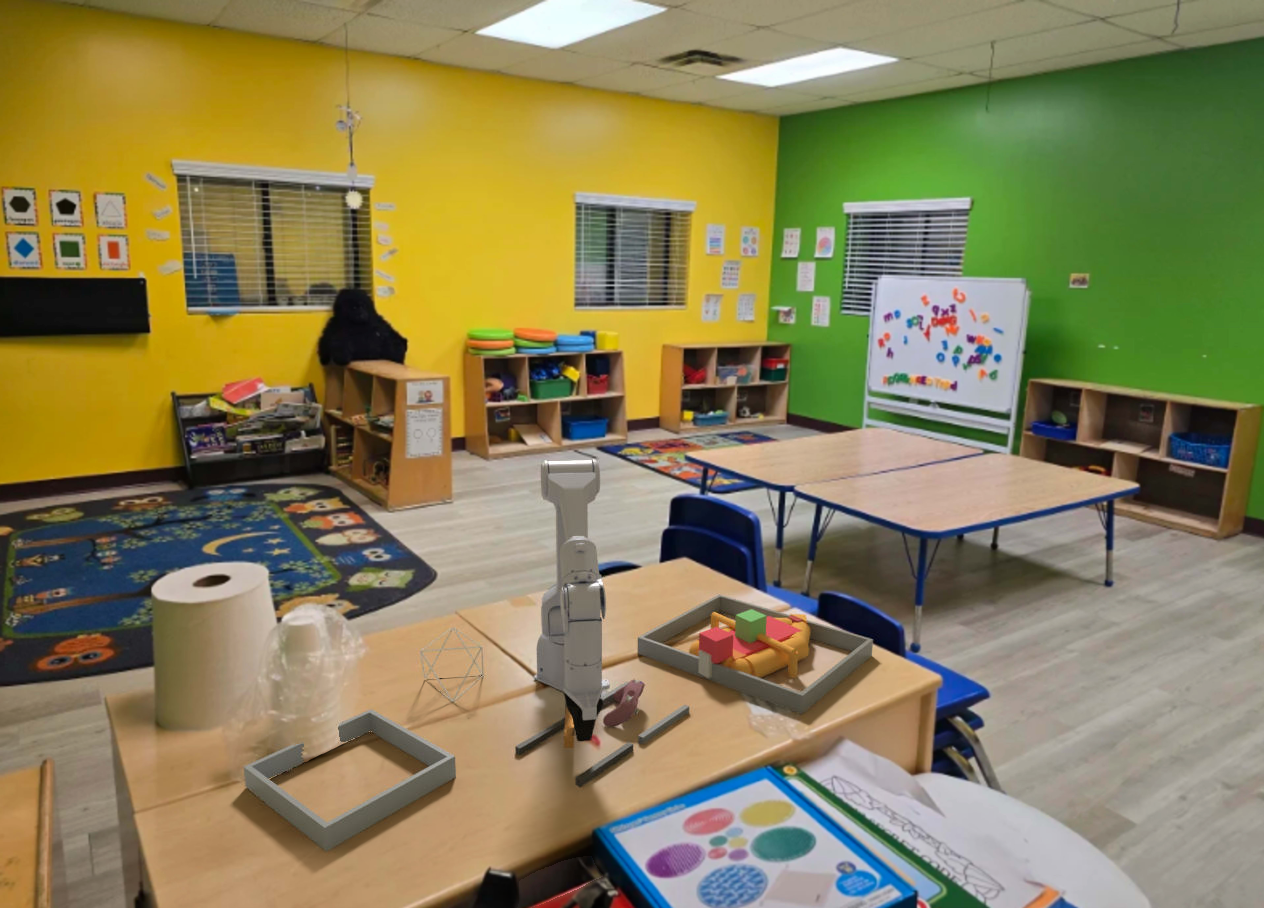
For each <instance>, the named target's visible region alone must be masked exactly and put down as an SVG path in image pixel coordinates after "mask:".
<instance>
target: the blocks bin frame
mask: <svg viewBox="0 0 1264 908" xmlns="http://www.w3.org/2000/svg"><path fill="white" fill-rule="evenodd" d="M751 609H752V610H755V611H757V612H759V613H761V614H764V615H766V616H767V617H768V616H770V617H773V618H788V617H789V616H790V614H787V613H783V612H780V611H776V610H775V609H771V608H767V607H763V606H760V605H756V604H753V603H749V602H746V601H742V600H740V599H736V598H733V597H730V596H729V597H728V596H725V595H723V594H717V595H715V596H714V597H712V598H710V599H708V600H706V601H704V602H701V603H700V604H698V605H696V606H694V607H692V608H691V609H689V610H687V611H685V612H683V613H682V614H679V615H677V616H675V617H674V618H672V619H670V620H668V621H666V622H663V624H660V625H658V626H656V627H655V628H653V629H651V630H649V631H647V632H645V633H643V634H641V635H639V636H637V654H638V655H641V656H644V657H647V658H649V659H651V660H653V661H657V662H659V663H663V664H665V665H667V666H670V667H673V668H676V669H679V670H681V671H683V672H687V673H689V674H692V675H695V676H697V677H700V678H703V679H706V680H708V681H711V682H714V683H716V684H719V685H722V686H724V687H727V688H729V689H732V690H735V691H738V690H739V691H738V692H740V691H742V692H741V693H743V692H744V693H743V694H746V695H749V696H751V695H752V697H755V698H758V699H760V700H763V701H765V702H768V703H771V704H772V705H776V706H779V707H781V706H782V707H781V708H784V709H786V708H788V709H787V710H789V709H790V711H793V712H795V713H798V714H800V715H802V714H804V713H805V712H806V711H808V709H810V708H811V707H812V706H813V705H814V704H816V703H817V702H819V700H820V699H822V698H823V697H824V696H825V695H827V693H829V692H830V691H831V690H833V689H834V688H835V687H836V686H837V685H838V684H840V683H841V682H842V681H844V680H845V679H846V677H848V676H849V675H851V673H853V672H854V671H855V670H857V669H858V668H859V667H860V666H861V665H863V664H864V663H865V662H866V661H868V659H870V657H872V656H873V646H874V645H873V644H874V639H872V638H870V637H866V636H863V635H859V634H855V633H853V632H849V631H846V630H841V629H839V628H836V627H831V626H829V625H825V624H821V623H818V622H814V621H811V620H809V619H808V620H807V625H808V626H809V627H810V631H811V633H810V638H809V640H810V639H811V640H814V641H816V642H819V643H824V644H826V645H829V646H834V647H836V648H839V649H844V650H846V651H849V652H850V653H849V654H847V655H846V656H845V657H843V658H842V659H841V660H839V662H837V663H836V664H835V665H833V667H831V668H830V669H828V670H827V671H826V672H824V674H823V675H821V676H820V677H819V678H817V679H816V680H815V681H813V682H812V683H811V684H810V685H808V686H807V687H806V688H805V689H803V690H802V691H797V690H795V689H792V688H789V687H786V686H784V685H781V684H777V683H775V682H772V681H770V680H766V679H763V678H762V677H761V678H758V677H755V676H752V675H750V674H747V673H744V672H741V671H738V670H735V669H733V668H730V667H727V666H724V665H721V664H718V663H717V664H715V663H712V676H711V677H710V678H707V677H705V676H703V675H702V674H700V673H698V671H699V656H696V655H693V654H690V653H689V652H687V651H684V650H681V649H678V648H676V647H672V646H669V645H666V644H665V643H664V642H666V641H668V640H670V639H671V638H673V637H675V636H677V635H679V634H681V633H682V632H684V631H686V630H687V629H690V628H691V627H693V626H695V625H697V624H699V623H701V622H702V621H704V620H706V619H707V618H711V614H712V613H713V612H716V613H719V612H722V613H725V614H729V615H731V616H735V617H736V615H737V614H740V613H742V612H745V611H748V610H751Z"/></svg>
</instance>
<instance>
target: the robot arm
mask: <svg viewBox="0 0 1264 908" xmlns="http://www.w3.org/2000/svg"><path fill="white" fill-rule="evenodd" d="M540 490H541V493H540V494H541V498H542V500H544V501H547V502H548V503H551V504H553V506H554V510H555V540H556V541H555V547H556V550H555V551H556V552H555V554H556V555H555V556H556V584H555V585H553V587H552V586H551V588H549V589H548V590H546V591H545V592H544V593H543V595H542V597H541V606H540V609H541V611H540V613H541V614H540V615H541V617H540V619H541V621H540V622H541V634H540V636H539V637H538V640H537V644H536V674H535V675H533V679H534V680H535V681H538V682H540V683H542V684H545V685H547V686H550V687H552V688H554V689H556V690H559V691H561V692H563V696H564V701H565V700H566V706H567V709H568V711H569V712H570V714H571V716H572V718H573V724H574V729H575V737H576V741H577V742H578V743H579V742H580V743H581V742H591V740H592V737H593V734H594V733H593V732H594V729H595V724H596V722H597V719H598V717H599V714H600V713H601V711H602V709H603V707H604V706H603V700H602V698H600V697H601V696H602V693H603V691H604V690H609V689H610V688H611V687H610V685H611V684H610V681H609V679H605V678H604V679H603V620H605V618H606V612H607V597H606V596H607V595H606V589H605V586H604V582H603V578H602V574H600V572H599V571H600V570H599V562H598V553H597V546H596V544H595V542H593V541H592V540H590V539H588V538H589V536H588V535H589V532H588V531H589V529H588V527H589V522H588V519H589V518H588V517H589V516H588V515H589V514H588V513H589V512H588V509H589V508H588V504H590V503H592V502H594V501H595V500H596V498H597V496H598V494H599V493H600V490H601V470H600V463H599V462H598V461H597V460H596V459H595V458H592V459H576V460H575V459H574V460H546V459H545V460H543V462H541V464H540Z"/></svg>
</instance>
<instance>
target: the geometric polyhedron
mask: <svg viewBox="0 0 1264 908" xmlns="http://www.w3.org/2000/svg"><path fill="white" fill-rule="evenodd" d="M453 630H454V633H455V634H456V636H457V637H458V640H460V643H461V644H462V645H463V647H447V648H445V645H446V643H447V641H448V639H449V637H450V635H451V634H452V633H453ZM448 632H449V633H448ZM447 633H448V635H447V637H446V639H445V641H444V642H443V644H442V646H441V648H432V649H431V648H430V649H426V648H428V647H429V646H431V645H432V644H434V642H436V641H437V640H439V639H440V638H442V637H443V636H444V635H445V634H447ZM459 633H460V634H461V635H463V636H464V637H465V638H467V639H469V640H470V641H471V642H473V643H474V644H476V646H466V644H465V642H464V641H463V640H462V638H461V637H460V635H459ZM462 649H463V650H466V652H467V653H468V655H469V656H470V658H471V660H472V663H471V665H470V667H469V669H468V671H467V673H466V674H465V675H460V676H457V677H461V678H463V680H462V682H461V684H460V686H459V687H458V689H457V691H456V693H455V695H454V697H453V699H452V697H451V695H450V694H449V692H448V691H447V689H446V688H445V686H444V684H443V683H442V682H441V679H439V678H440V677H439V676H438V675H437V673H436V672H435V670H434V669H433V667H434V665H435V663H436V661H437V660H438V658H439V656H440V654H441V652H442V651H451V650H462ZM469 649H479V650H478V652H477V653H476V655H475V657H473V656H472V653H471V652H470V651H469ZM434 651H439V652H438V653H437V655H436V657H435V658H434V661H433V663H432V665H431V663H430V662H429V660H428V659H427V657H426V655H425V654H424V652H434ZM419 653H420V660H421V665H422V667H421V668H422V673H423V679H425V678H426V679H428V677H429V674H430V672H431V671H432V673H433V675H434V676H435V678H437V679H436V680H437V681H438V683H439V684H440V686H441V687H442V688H441V689H442V690H444V692H445V693H443V692H442V691H441V693H442V694H443V695H444V696H443V695H442V694H441V693H440V694H441V695H442V696H443V697H444V698H446V697H447V698H448V699H449V700H448V699H447V698H446V699H447V700H448V701H449V702H451V703H454V702H455V701H456V700H457V699H459V698H460V697H461V696H462V695H463V694H464V693H466V692H467V691H468V690H470V688H472V687H473V686H474V685H475V684H476V683H477V682H476V680H475V681H474V682H473V683H472V684H470V685H469V687H467V688H466V689H465V690H464V691H462V692H461V693H460V691H461V689H462V687H463V685H464V683H465V682H466V679H467V678H468V677H467V676H469V674H470V671H471V669H472V668H473V666H474V665H475V666H476V668H477V669H478V671H479V673H480V674H475V675H472V676H475V677H479V678H478V679H477V680H478V681H480V680H481V679H482V678H483V677H484V675H485V674H484V673H485V672H484V655H483V645H481V644H480V643H478V642H476V641H475V640H473V639H472V638H470V637H469V636H468V635H466V634H465V633H463V632H462V631H460V630H459V629H457V628H456V627H455V626H453V627H450V629H448V630H447V631H445V632H444V633H442V634H441V635H440V636H438V637H437V638H435V639H434V640H432V641H431V642H430V643H428V644H427V645H426V646H424V647H423V648H422V649H420V651H419ZM480 653H481V669H480V667H479V664H477V662H476V660H477V658H478V656H479V654H480ZM424 661H425V662H426V664H427V665H428V667H429V670H428V672H427V673H425V666H424ZM478 675H480V676H478ZM481 675H482V676H483V677H482V676H481ZM462 676H463V677H462ZM464 676H465V677H464ZM481 677H482V678H481ZM480 678H481V679H480ZM475 682H476V683H475ZM473 684H474V685H473ZM465 691H466V692H465ZM459 693H460V694H459ZM458 694H459V695H458ZM445 695H446V696H445ZM457 695H458V696H457Z"/></svg>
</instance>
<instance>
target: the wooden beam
mask: <svg viewBox="0 0 1264 908" xmlns="http://www.w3.org/2000/svg"><path fill="white" fill-rule="evenodd" d="M564 713H565V715H564V718H565V729H563V733H564V734H563V748H564V749H567V748H569V749H572V748H573V749H574V748H575V736H576V733H575V729H574V724H573V718H572V716H571V714H570V712H569V711H568V709H567V706H566V700H565V699H564Z"/></svg>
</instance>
